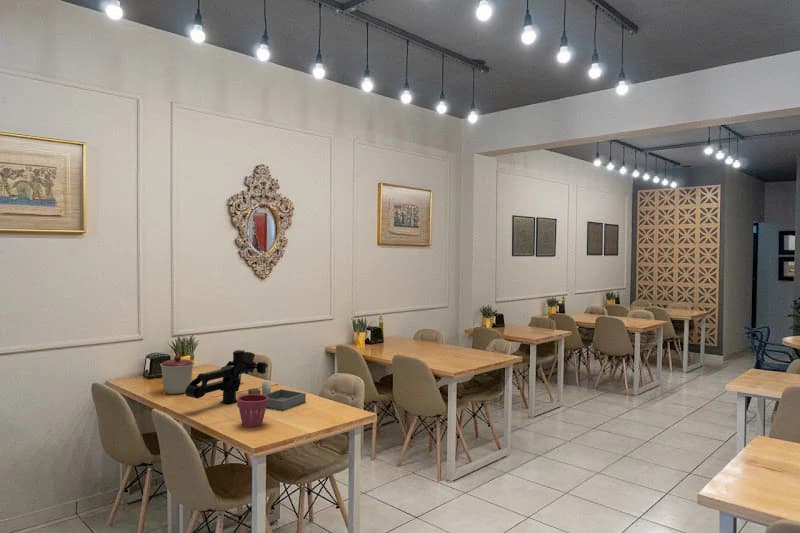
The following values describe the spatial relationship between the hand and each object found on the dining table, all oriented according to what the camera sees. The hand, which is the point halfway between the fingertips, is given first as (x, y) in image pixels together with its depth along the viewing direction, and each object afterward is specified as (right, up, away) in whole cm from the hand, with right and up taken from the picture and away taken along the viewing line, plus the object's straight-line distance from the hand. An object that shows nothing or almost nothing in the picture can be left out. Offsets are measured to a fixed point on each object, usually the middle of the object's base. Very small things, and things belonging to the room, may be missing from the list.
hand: (261, 364), depth 316 cm
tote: (+17, -17, -23) cm, 34 cm away
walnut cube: (-1, -17, -13) cm, 22 cm away
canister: (-48, -15, -4) cm, 50 cm away
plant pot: (+11, -18, -60) cm, 63 cm away
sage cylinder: (+4, -17, -5) cm, 18 cm away
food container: (-21, -16, +18) cm, 32 cm away
